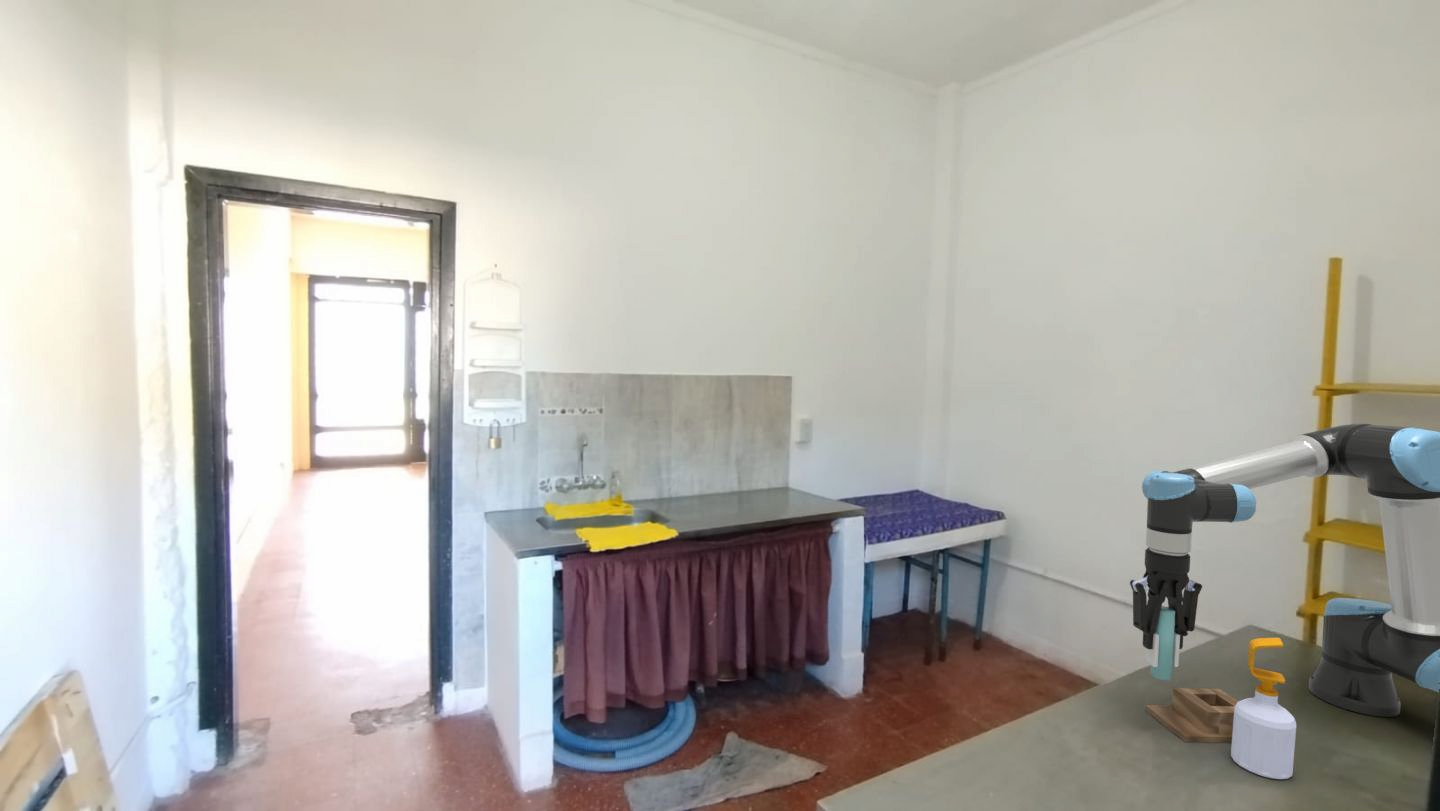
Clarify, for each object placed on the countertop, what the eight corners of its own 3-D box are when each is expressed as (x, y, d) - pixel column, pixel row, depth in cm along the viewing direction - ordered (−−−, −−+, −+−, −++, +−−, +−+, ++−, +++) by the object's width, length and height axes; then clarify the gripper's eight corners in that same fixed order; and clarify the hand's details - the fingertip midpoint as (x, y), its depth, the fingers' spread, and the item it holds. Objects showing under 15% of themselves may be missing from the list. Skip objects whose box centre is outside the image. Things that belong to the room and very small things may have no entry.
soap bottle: (1297, 786, 119) (1308, 653, 117) (1233, 769, 123) (1243, 641, 122) (1287, 762, 126) (1297, 636, 125) (1227, 746, 131) (1236, 625, 129)
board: (1235, 711, 144) (1237, 686, 144) (1283, 743, 132) (1285, 715, 132) (1145, 710, 144) (1147, 685, 144) (1185, 742, 132) (1187, 714, 132)
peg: (1163, 672, 136) (1167, 605, 135) (1175, 680, 133) (1179, 612, 132) (1146, 672, 136) (1149, 605, 135) (1158, 680, 132) (1161, 612, 132)
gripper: (1194, 545, 137) (1188, 655, 138) (1115, 545, 136) (1109, 655, 138) (1222, 556, 129) (1216, 672, 131) (1138, 555, 129) (1133, 672, 130)
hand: (1161, 663), depth 134 cm, fingers closed on peg, 3 cm apart
